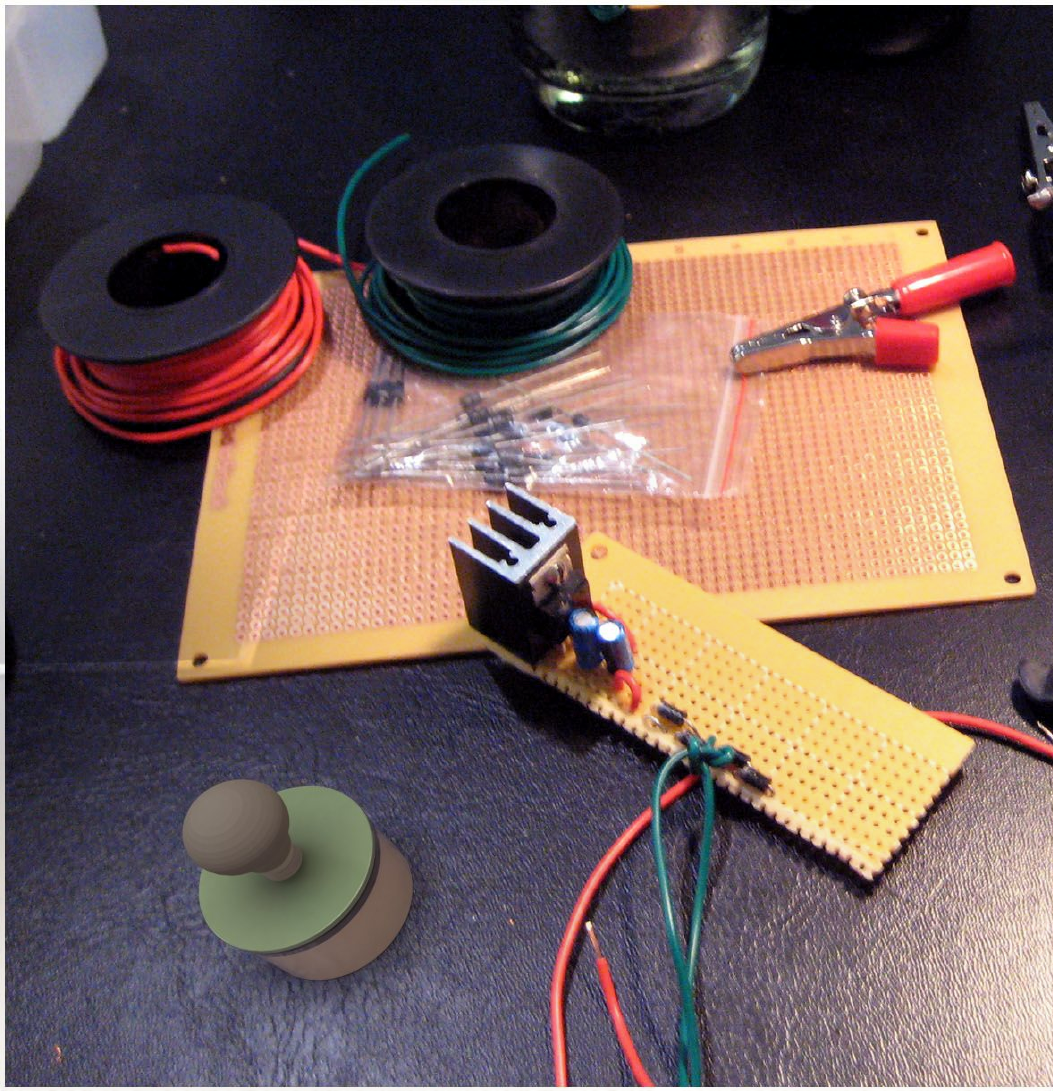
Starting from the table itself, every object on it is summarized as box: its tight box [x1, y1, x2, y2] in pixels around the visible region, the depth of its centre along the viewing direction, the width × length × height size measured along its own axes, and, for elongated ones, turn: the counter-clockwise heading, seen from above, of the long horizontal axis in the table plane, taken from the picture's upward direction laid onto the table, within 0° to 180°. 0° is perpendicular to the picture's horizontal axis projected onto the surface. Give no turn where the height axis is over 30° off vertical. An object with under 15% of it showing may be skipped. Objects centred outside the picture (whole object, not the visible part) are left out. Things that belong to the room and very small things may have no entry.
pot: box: [198, 785, 414, 981], centre depth 86 cm, size 12×12×9 cm
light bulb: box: [182, 778, 302, 881], centre depth 78 cm, size 6×6×10 cm
